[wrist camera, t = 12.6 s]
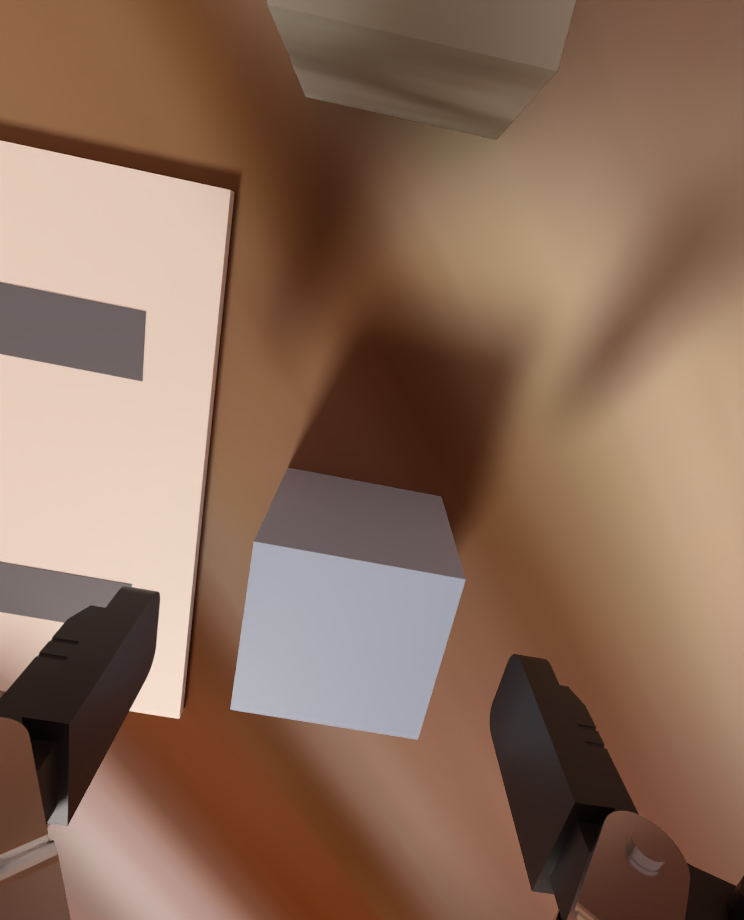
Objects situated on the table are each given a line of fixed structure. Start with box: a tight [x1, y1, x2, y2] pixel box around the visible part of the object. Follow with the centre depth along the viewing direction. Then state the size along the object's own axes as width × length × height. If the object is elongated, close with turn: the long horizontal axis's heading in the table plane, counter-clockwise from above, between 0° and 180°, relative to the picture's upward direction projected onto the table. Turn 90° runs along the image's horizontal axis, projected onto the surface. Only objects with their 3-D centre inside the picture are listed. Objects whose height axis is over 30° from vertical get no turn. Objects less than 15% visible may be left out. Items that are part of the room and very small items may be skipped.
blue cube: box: [230, 468, 466, 740], centre depth 15 cm, size 5×5×5 cm
